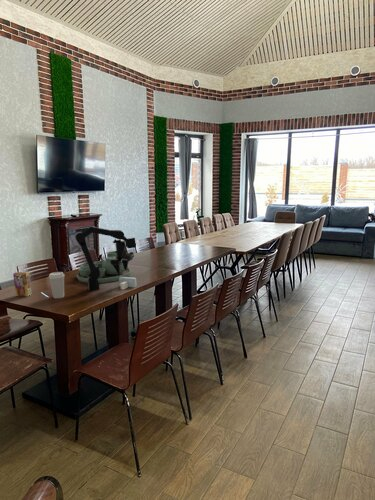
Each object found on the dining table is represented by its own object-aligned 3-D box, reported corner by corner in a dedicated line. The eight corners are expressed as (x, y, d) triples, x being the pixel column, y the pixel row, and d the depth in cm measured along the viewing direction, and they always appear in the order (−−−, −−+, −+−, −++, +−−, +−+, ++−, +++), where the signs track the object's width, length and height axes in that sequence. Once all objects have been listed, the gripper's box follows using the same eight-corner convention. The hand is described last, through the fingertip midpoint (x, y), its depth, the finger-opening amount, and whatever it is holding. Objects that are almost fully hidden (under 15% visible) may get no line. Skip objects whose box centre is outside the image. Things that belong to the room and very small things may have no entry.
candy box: (32, 294, 237) (29, 271, 235) (28, 296, 233) (25, 273, 230) (19, 294, 239) (16, 271, 236) (15, 296, 234) (12, 273, 232)
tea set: (82, 272, 296) (80, 252, 293) (132, 269, 300) (130, 249, 297) (71, 285, 257) (69, 262, 254) (129, 281, 261) (128, 259, 258)
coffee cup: (68, 294, 235) (66, 271, 233) (64, 298, 226) (61, 275, 223) (53, 294, 235) (51, 272, 232) (48, 299, 226) (45, 275, 223)
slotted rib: (123, 289, 241) (123, 283, 240) (120, 289, 241) (120, 283, 241) (135, 283, 255) (134, 277, 255) (132, 283, 256) (132, 277, 255)
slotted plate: (136, 286, 247) (136, 277, 246) (135, 287, 245) (134, 278, 244) (121, 285, 252) (120, 276, 251) (119, 286, 249) (118, 277, 248)
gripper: (124, 252, 234) (125, 275, 237) (137, 246, 251) (139, 269, 254) (108, 251, 238) (110, 274, 241) (123, 246, 255) (125, 268, 258)
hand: (122, 271), depth 248 cm, fingers open, 9 cm apart
